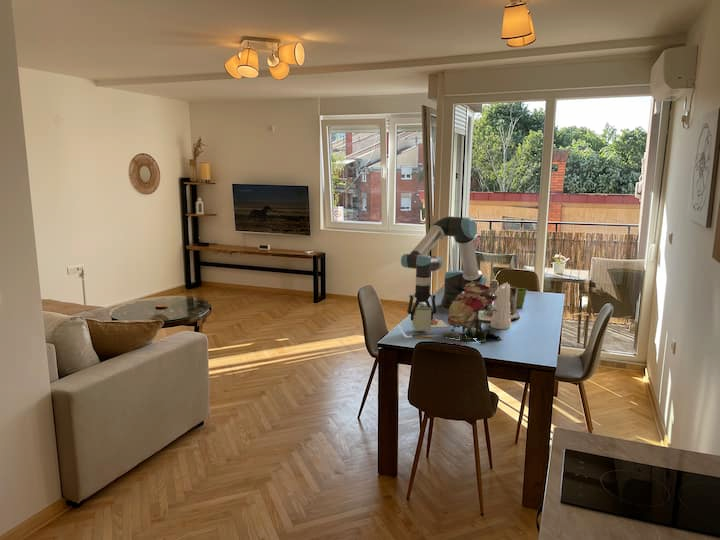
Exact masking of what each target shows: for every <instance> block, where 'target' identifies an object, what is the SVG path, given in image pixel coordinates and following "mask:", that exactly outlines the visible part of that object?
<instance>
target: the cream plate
mask: <svg viewBox="0 0 720 540" xmlns="http://www.w3.org/2000/svg"><path fill="white" fill-rule="evenodd" d="M444 327H447V328H448V327H449V325H447V323H445V322H444V320H443V319H438V318H434V317H433V320H431V328H444Z"/></svg>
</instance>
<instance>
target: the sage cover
mask: <svg viewBox="0 0 720 540" xmlns="http://www.w3.org/2000/svg"><path fill="white" fill-rule="evenodd" d="M413 306H414V304H412V307H413ZM431 309H432V306H431V307H428V306H427V304H424V303H419V304H418V306H417V307H415V313H414V314H415V327H413V326H412V328H413V329H414V331H415V332H416V331H417V332H419V331H431V330H432V327H431Z"/></svg>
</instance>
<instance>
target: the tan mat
mask: <svg viewBox="0 0 720 540" xmlns="http://www.w3.org/2000/svg"><path fill="white" fill-rule="evenodd" d="M412 337H413V338H414V339H415V340H416V339H435V338H436V336H435V335H434V334H413V335H412Z"/></svg>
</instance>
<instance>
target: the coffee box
mask: <svg viewBox="0 0 720 540" xmlns="http://www.w3.org/2000/svg"><path fill="white" fill-rule="evenodd" d="M517 291H518V286H513V285H510V312H511V313H514V312H515V313H516V312H517V308H516V304H517ZM511 313H510V314H511ZM515 313H514V314H515Z"/></svg>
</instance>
